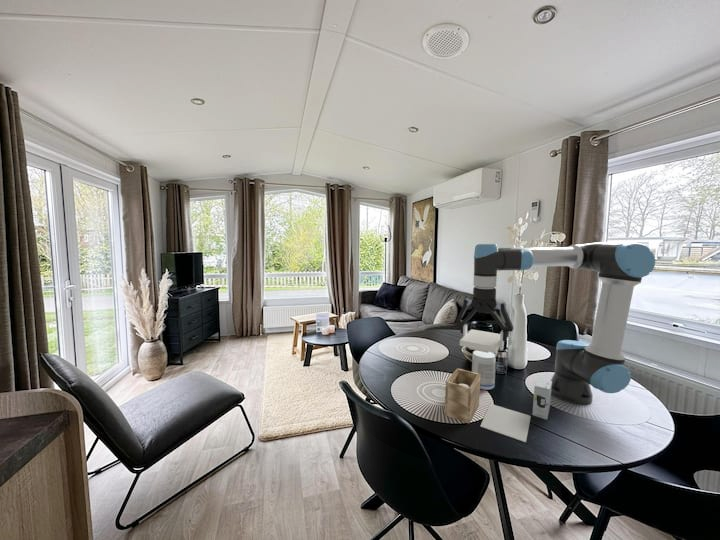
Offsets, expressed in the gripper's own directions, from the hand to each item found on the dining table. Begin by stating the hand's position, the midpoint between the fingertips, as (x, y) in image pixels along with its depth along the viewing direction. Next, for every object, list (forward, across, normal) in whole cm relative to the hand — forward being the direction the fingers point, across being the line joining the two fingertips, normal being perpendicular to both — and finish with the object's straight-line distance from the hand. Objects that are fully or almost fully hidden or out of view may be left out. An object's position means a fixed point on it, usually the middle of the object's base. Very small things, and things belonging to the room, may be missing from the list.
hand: (482, 345), depth 106 cm
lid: (-1, 0, 0) cm, 1 cm away
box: (+27, +6, +1) cm, 27 cm away
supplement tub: (+27, +5, -24) cm, 36 cm away
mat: (+27, -9, -1) cm, 28 cm away
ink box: (+27, -18, -15) cm, 36 cm away
